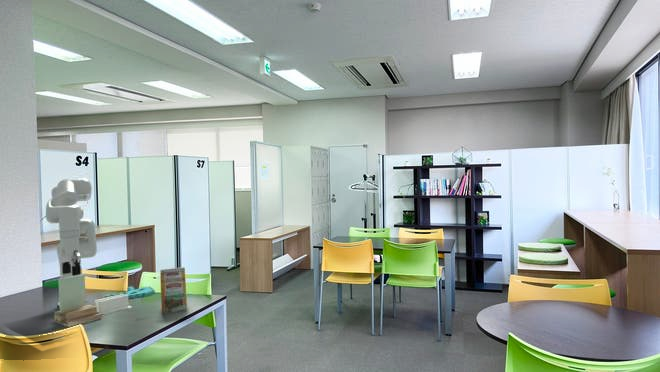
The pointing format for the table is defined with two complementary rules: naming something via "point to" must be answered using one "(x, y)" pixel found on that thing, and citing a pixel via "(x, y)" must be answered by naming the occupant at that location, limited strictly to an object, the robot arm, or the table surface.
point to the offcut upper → (79, 311)
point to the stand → (112, 304)
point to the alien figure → (136, 292)
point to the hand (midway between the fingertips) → (71, 274)
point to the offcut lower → (76, 318)
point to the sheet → (72, 292)
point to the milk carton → (173, 290)
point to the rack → (78, 321)
